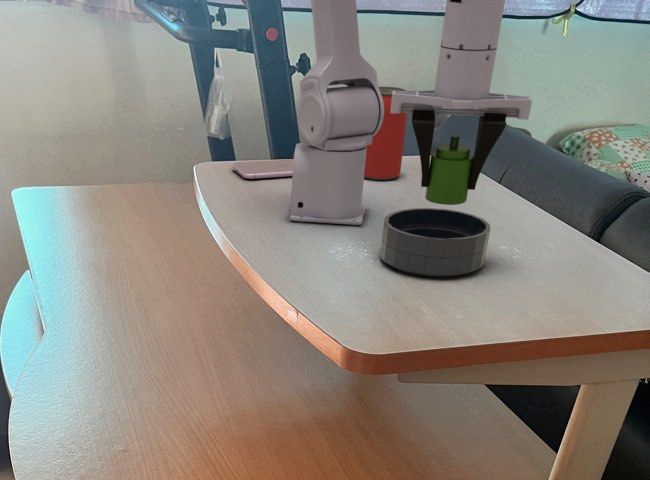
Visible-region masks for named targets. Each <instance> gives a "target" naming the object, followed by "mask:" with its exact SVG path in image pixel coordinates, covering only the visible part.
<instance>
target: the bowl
mask: <svg viewBox="0 0 650 480" xmlns="http://www.w3.org/2000/svg"><path fill="white" fill-rule="evenodd" d="M490 234H491V225H490V223H489V222H487V220H485V219H484V218H483V217H479V216H477V215H475V214H473V213H472V214H471V213H467V212H464V211H459V210H453V209H447V208H438V207H437V208H435V207H434V208H433V207H418V208H417V207H414V208H407V209H399V210H396V211H394V212H390V213H388V214H387V215H386V216H385V217H384V219H383V227H382V236H381V237H382V238H381V244H380V245H381V246H380V253H379V257H380V258H381V259H382V261H383V262H384V263H386V264H388V265H389V266H391V267H393V268H394V269H396V270H398V271H401V272H404V273H407V274H410V275H415V276H421V277H427V278H452V277H459V276H463V275H466V274H470V273H472V272H475V271H478V270H480V269H482V267H483V265H484V264H485V260H486V255H487V250H488V246H489V239H490Z"/></svg>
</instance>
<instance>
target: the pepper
mask: <svg viewBox="0 0 650 480" xmlns="http://www.w3.org/2000/svg"><path fill="white" fill-rule="evenodd" d="M459 143H460V136H459V135H456V134H455V135H451V136H450V141H449V144H440V145H438V146H437V147H436V151H435V152H432V153H431V154H430V167H429V181H428V187H426V191H425V200H426V201H428V202H430V203H433V204H438V205H445V206H446V205H447V206H454V205H455V206H456V205H462V204H465V203H466V201H467V199H468V194H469V193H468V192H469V190H468V186H469V180H470V175H471V170H472V164H473V157H474V155H472V154H471V147H468V146H465V145H460V144H459Z"/></svg>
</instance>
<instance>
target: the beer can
mask: <svg viewBox="0 0 650 480" xmlns="http://www.w3.org/2000/svg"><path fill="white" fill-rule="evenodd" d="M378 87H379V91H380V93H381V95H382V98H383V103H384V118H383V122H382V125H381V128H380V130H379V131H378V133H377V134H376V135H375V136H373V137H372V144H371V145H367V150H366V161H365V172H364V179H367V180H372V181H390V180H394V179H396V178H398V177H399V176H400V174H401V171H402V170H401V169H402V162H403V155H404V146H405V137H406V128H407V120H408V113H402V112H401V113H399V114H395V113H390V110H391V101H392V92H393V91H407V90H406V89H405V88H402V87H397V86H396V87H395V86H378Z"/></svg>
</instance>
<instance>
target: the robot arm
mask: <svg viewBox="0 0 650 480" xmlns="http://www.w3.org/2000/svg"><path fill="white" fill-rule="evenodd" d="M310 2H311V3H310V4H311V14H312V25H313V36H314V47H315V57H316V61H315V63H314V64H313V65H312V67H311V68H310V69H309V70H308V72H306V73H305V75H304V76H303V77H302V79H301V80H300V82H299V90H300V97H299V99H300V101H299V107H298V113H297V116H298V117H297V119H298V126H299V130H300V132H301V134H302V136H303V138H304V139H305V142H303V143H301V142H300V143H299V142H298V143H296V145H295V149H294V153H293V159H294V161H293V176H291V177H292V178H291V181H292V182H291V190H290V215H289V220H290V221H292V222H307V223H309V222H310V223H323V224H336V225H337V224H339V225H354V226H355V225H356V226H360V225H362V224H363V219H364V214H365V210H366V206H365V205H364V204H362V202H363V191H364V180H365V178H364V172H365V161H366V150H367V145H371V144H372V137H373V136H375V135H376V134H377V133H378V131H379V130H380V128H381V125H382V122H383V118H384V103H383V98H382V95H381V93H380V91H379V87H380V86H379V83H378V75H377V70H376V69H375V68H374V66H372V65H371V63H369V62H368V61H367V60H366V58H364V57H363V55H362V54H361V50H360V49H361V48H360V47H361V46H360V36H359V35H360V33H359V24H358V23H359V22H358V9H357V7H358V6H357V0H310ZM505 2H506V0H446V3H445V9H444V19H443V26H442V34H441V41H440V46H439V55H438V62H437V70H436V77H435V83H434V90H432V89H431V90H430V89H429V90H406V91H393V92H392V101H391V110H390V113H395V114H399V113H401V112H402V113H407V114H411V125H412V129H413V133H414V136H415V139H416V144H417V148H418V154H419V159H420V167H421V180H420V182H421V183H420V186H421V187H422V188H427V187H428V181H429V168H430V161H431V155H432V148H433V147H432V146H433V142H434V141H433V140H434V133H435V128H436V127H435V126H436V115H446V116H448V115H449V116H468V117H469V116H470V117H479V118H478V125H477V133H476V140H475V146H474V152H473V164H472V170H471V175H470V180H469V186H468V191H470V190H471V191H474V190H475V189H476V185H477V183H478V179H479V177H480V174H481V172H482V169H483V167H484V165H485V163H486V161H487V160H488V157H489V155H490V153H491V152H492V150H493V148H494V147H495V145H496V143H497V141H498V140H499V139H500V137H501V136H502V135H503V132H504V131H505V129H506V126H507V121H506V120H507V118H513V119H518V120H525V121H526V120H527V121H528V120H529V118H530V112H531V108H532V103H533V99H532V97H531V96H528V95H515V94H514V95H513V94H506V93H505V94H503V93H494V92H490V90H491V84H492V80H493V75H494V74H493V73H494V67H495V62H496V56H497V50H498V45H499V37H500V33H501V27H502V21H503V15H504V10H505V4H506V3H505ZM339 85H342V86H339ZM343 85H344V86H343ZM329 86H336V87H329ZM337 86H338V87H337Z"/></svg>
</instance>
